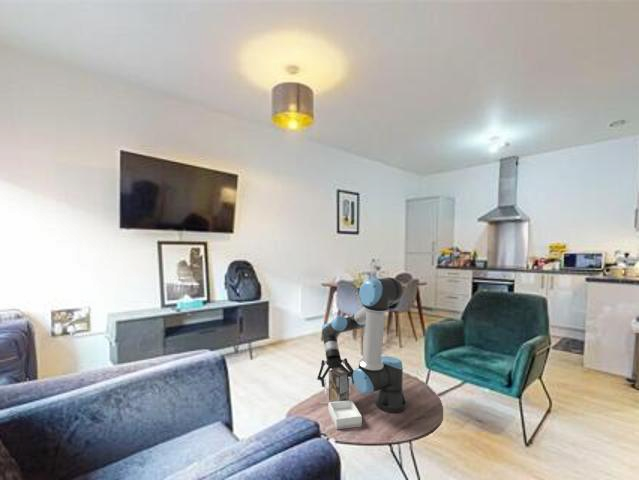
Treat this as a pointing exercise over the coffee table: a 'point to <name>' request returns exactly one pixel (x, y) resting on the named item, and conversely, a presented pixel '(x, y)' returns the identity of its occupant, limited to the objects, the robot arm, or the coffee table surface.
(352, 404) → the box
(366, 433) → the coffee table surface
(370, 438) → the coffee table surface
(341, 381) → the coffee box
